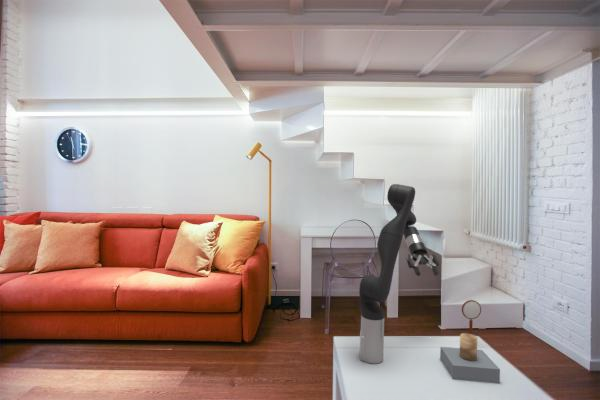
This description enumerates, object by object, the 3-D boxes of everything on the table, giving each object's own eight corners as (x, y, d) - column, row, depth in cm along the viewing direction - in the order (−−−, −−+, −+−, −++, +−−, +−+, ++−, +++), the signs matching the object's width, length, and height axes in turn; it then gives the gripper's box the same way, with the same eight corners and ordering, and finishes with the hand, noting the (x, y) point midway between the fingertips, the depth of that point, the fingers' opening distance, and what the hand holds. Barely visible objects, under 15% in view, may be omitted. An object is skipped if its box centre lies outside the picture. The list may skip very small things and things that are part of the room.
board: (452, 378, 114) (453, 365, 114) (440, 358, 128) (440, 346, 128) (499, 383, 112) (500, 369, 112) (481, 362, 126) (482, 350, 126)
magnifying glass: (461, 344, 140) (463, 300, 140) (459, 342, 142) (461, 299, 142) (480, 345, 141) (482, 300, 140) (478, 343, 142) (480, 299, 142)
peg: (462, 373, 117) (463, 339, 117) (456, 365, 123) (457, 332, 123) (479, 375, 117) (480, 340, 116) (472, 366, 122) (473, 333, 122)
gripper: (405, 241, 149) (416, 270, 138) (432, 241, 151) (446, 270, 140) (399, 250, 155) (410, 279, 144) (426, 250, 157) (438, 279, 146)
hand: (428, 275), depth 142 cm, fingers open, 8 cm apart
